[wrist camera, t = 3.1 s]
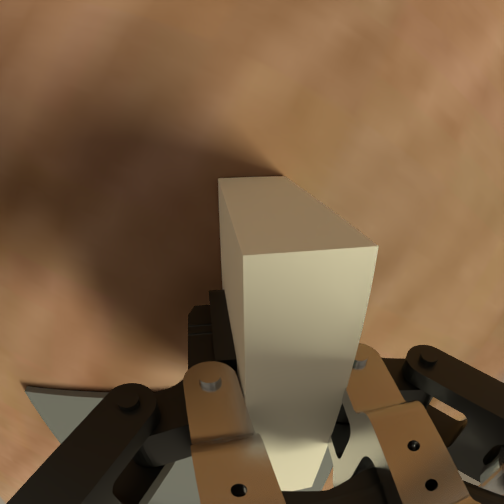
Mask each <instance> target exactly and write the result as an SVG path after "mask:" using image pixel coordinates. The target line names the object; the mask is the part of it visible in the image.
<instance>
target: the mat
mask: <svg viewBox="0 0 504 504" xmlns="http://www.w3.org/2000/svg"><path fill="white" fill-rule="evenodd" d="M25 393H26V394H27V396H28V397H29V399H30V401H31V402H32V404H33V405H34V407H35V408H36V410H37V411H38V413H39V414H40V416H41V417H42V419H43V420H44V422H45V423H46V424H47V426H48V427H49V429H50V430H51V431H52V433H53V434H54V435H55V437H56V438H57V439H58V441H59V442H60V443H62V442H63V441H64V440H65V439H66V438H67V437H68V436H69V435H70V434H71V433H72V432H73V430H74V429H75V428H76V427H77V426H78V425H79V424H80V423H81V422H82V421H83V420H84V419H85V418H86V416H87V415H88V414H89V413H90V412H91V411H92V410H93V409H94V408H95V407H96V406H97V405H98V404H99V402H100V401H101V400H102V399H103V398H104V397H105V396H106V395H107V394H108V393H109V392H90V391H72V390H59V389H48V388H39V387H30V386H27V387H26V390H25ZM153 393H155V392H153ZM332 467H333V462H332V458H331V455H330V451H329V447H328V446H327V449H326V452H325V454H324V457H323V460H322V462H321V465H320V468H319V470H318V473H317V475H316V478H315V480H314V483H313V485H312V487H310V488H305V489H300V490H296V491H321V490H322V488H323V486H324V484H325V482H326V480H327V478H328V476H329V474H330V472H331V469H332ZM148 504H201V503H200V498H199V493H198V488H197V483H196V477H195V472H194V466H193V460H192V456H191V457H188V458H185V459H182V460H178V461H175V463H174V465H173V467H172V468H171V470H170V471H169V473H168V474H167V476H166V477H165V479H164V480H163V482H162V483H161V485H160V486H159V488H158V489H157V491H156V492H155V494H154V495H153V497H152V498H151V500H150V501H149V503H148Z"/></svg>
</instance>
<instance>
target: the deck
mask: <svg viewBox="0 0 504 504" xmlns="http://www.w3.org/2000/svg"><path fill="white" fill-rule="evenodd" d="M218 195H219V223H220V247H221V268H222V287H223V290H225V296H226V302H227V308H228V313H229V319H230V325H231V331H232V336H233V342H234V347H235V353H236V358H237V375H238V381H239V384H240V388H241V391H242V394H243V397H244V400H245V403H246V407H247V410H248V413H249V416H250V419H251V422H252V425H253V428H254V431H255V433H259V434H260V436H261V438H262V440H263V442H264V445H265V448H266V451H267V454H268V456H269V459H270V462H271V465H272V467H273V470H274V473H275V476H276V478H277V481H278V484H279V486H280V489H281V491H296V490H300V489H305V488H310V487H312V485H313V483H314V480H315V478H316V475H317V473H318V470H319V468H320V465H321V462H322V460H323V457H324V454H325V452H326V449H327V446H328V444H327V443H328V440H329V438H330V435H332V432H333V429H334V426H335V423H336V420H337V417H338V414H339V411H340V408H341V405H342V398H343V394H344V391H345V388H347V385H348V382H349V378H350V375H351V371H352V367H353V364H354V360H355V356H356V352H357V348H358V345H359V340H360V336H361V332H362V328H363V324H364V319H365V315H366V310H367V306H368V301H369V296H370V291H371V286H372V281H373V275H374V270H375V264H376V258H377V252H378V245H377V244H375V243H374V242H373V241H372V240H370V239H369V238H368V237H367V236H365V235H364V234H363V233H361V232H360V231H359V230H358V229H356V228H355V227H354V226H352V225H351V224H350V223H348V222H347V221H346V220H345V219H343V218H342V217H341V216H339V215H338V214H337V213H335V212H334V211H333V210H331V209H330V208H329V207H327V206H326V205H325V204H323V203H322V202H320V201H319V200H318V199H316V198H315V197H314V196H312V195H311V194H309V193H308V192H307V191H305V190H304V189H302V188H301V187H300V186H298V185H297V184H295V183H294V182H293V181H291V180H290V179H288V178H287V177H285V176H269V177H236V178H218Z"/></svg>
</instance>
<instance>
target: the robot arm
mask: <svg viewBox="0 0 504 504" xmlns="http://www.w3.org/2000/svg"><path fill="white" fill-rule="evenodd" d="M209 301H210V305H200V306H194V308H193V309H192V310H191V312H190V313H189V315H188V371H187V372H186V373H185V375H184V378H183V380H182V381H180V382H179V383H178V384H176V385H175V386H173V387H171V388H168V389H165V390H161V391H158V392H155V393H153V392H152V391H151V390H150V389H149V388H148V387H146V386H144V385H141V384H136V383H128V384H123V385H120V386H117V387H115V388H114V389H112V390H111V391H110V392H109V393H108V394H107V395H106V396H105V397H104V398H103V399H102V400H101V401H100V402H99V404H98V405H97V406H96V407H95V408H94V409H93V410H92V411H91V412H90V413H89V414H88V415H87V416H86V418H85V419H84V420H83V421H82V422H81V423H80V424H79V425H78V426H77V427H76V428H75V429H74V430H73V432H72V433H71V434H70V435H69V436H68V437H67V438H66V439H65V440H64V441H63V442H62V443H61V445H60V446H59V447H58V448H57V449H56V450H55V451H54V452H53V453H52V454H51V455H50V456H49V458H48V459H47V460H46V461H45V462H44V463H43V464H42V465H41V466H40V467H39V468H38V470H37V471H36V472H35V473H34V474H33V475H32V476H31V477H30V478H29V479H28V480H27V482H26V483H25V484H24V485H23V486H22V487H21V488H20V489H19V490H18V491H17V493H16V494H15V495H14V496H13V497H12V498H11V499H10V500H9V501H8V502H7V504H148V503H149V501H150V500H151V498H152V497H153V495H154V494H155V492H156V491H157V489H158V488H159V486H160V485H161V483H162V482H163V480H164V479H165V477H166V476H167V474H168V473H169V471H170V470H171V468H172V467H173V465H174V463H175V461H178V460H182V459H185V458H188V457H191V456H192V460H193V466H194V472H195V477H196V483H197V488H198V493H199V498H200V503H201V504H504V383H502V382H500V381H498V380H497V379H495V378H493V377H491V376H489V375H487V374H485V373H483V372H481V371H479V370H477V369H475V368H473V367H472V366H470V365H468V364H466V363H464V362H462V361H460V360H458V359H456V358H454V357H452V356H450V355H448V354H446V353H445V352H443V351H441V350H439V349H437V348H435V347H432V346H428V345H418V346H414V347H412V348H411V349H410V350H409V351H408V353H407V356H406V358H405V359H394V358H381V357H380V355H379V353H378V352H377V351H376V350H375V349H373V348H372V347H370V346H368V345H365V344H361V343H359V345H358V348H357V352H356V356H355V360H354V364H353V367H352V371H351V375H350V378H349V382H348V385H347V388H345V391H344V394H343V398H342V405H341V408H340V411H339V414H338V417H337V420H336V423H335V426H334V429H333V432H332V435H330V438H329V440H328V443H327V444H328V447H329V451H330V455H331V458H332V462H333V485H334V488H332V489H330V490H326V491H281V489H280V486H279V484H278V481H277V478H276V476H275V473H274V470H273V467H272V465H271V462H270V459H269V456H268V454H267V451H266V448H265V445H264V442H263V440H262V438H261V436H260V434H259V433H255V431H254V428H253V425H252V422H251V419H250V416H249V413H248V410H247V407H246V403H245V400H244V397H243V394H242V391H241V388H240V384H239V381H238V375H237V358H236V353H235V347H234V342H233V336H232V331H231V325H230V319H229V313H228V308H227V302H226V296H225V290H210V291H209ZM433 397H435V398H436V399H438V400H440V401H442V402H443V403H445V404H447V405H449V406H451V407H452V408H454V409H456V410H458V411H459V412H461V413H463V414H464V415H465V416H466V418H467V419H465V420H463V421H458V420H455V419H453V418H452V417H450V416H448V415H446V414H445V413H443V412H441V411H439V410H438V409H436V408H434V407H432V406H431V405H429V403H430V401H431V399H432V398H433ZM458 470H459V471H461V472H463V473H464V474H466V475H468V476H470V477H471V478H473V479H475V480H477V481H479V482H480V483H481V484H480V485H479V486H476V485H473V484H471V483H468V482H466V481H463V480H462V478H461V476H460V474H459V472H458Z"/></svg>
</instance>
